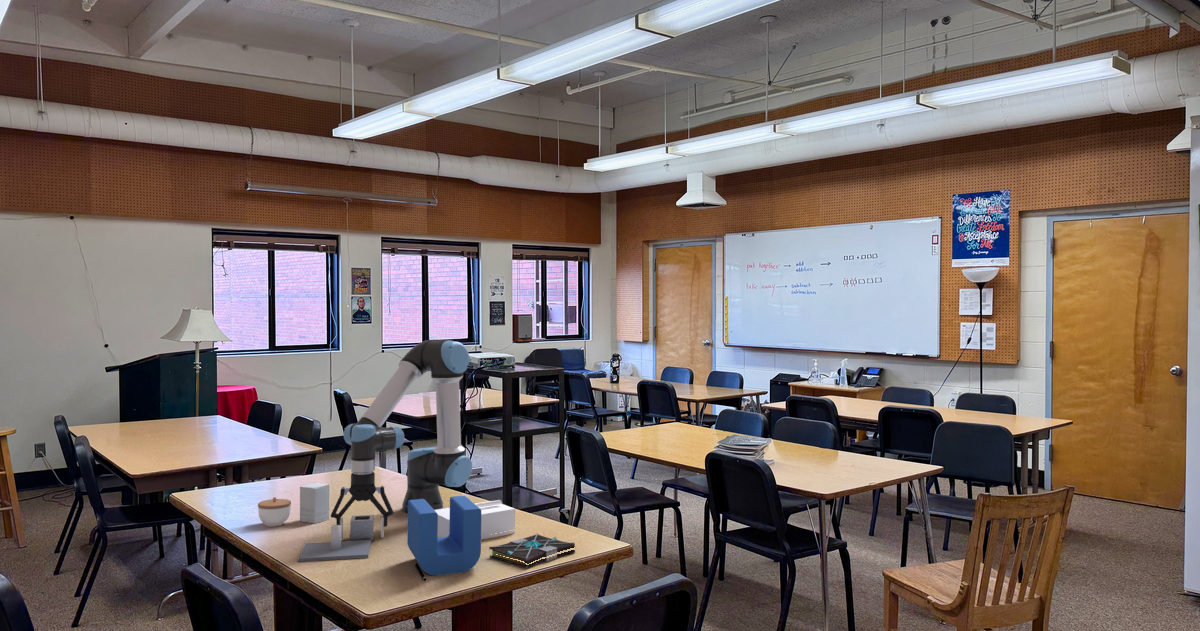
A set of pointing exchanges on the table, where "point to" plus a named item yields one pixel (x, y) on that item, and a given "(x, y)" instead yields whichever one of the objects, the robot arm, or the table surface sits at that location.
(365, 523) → the block
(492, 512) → the tissue box
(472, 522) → the block
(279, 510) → the lidded jar
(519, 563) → the book
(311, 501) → the supplement box
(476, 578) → the table surface
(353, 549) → the plate
